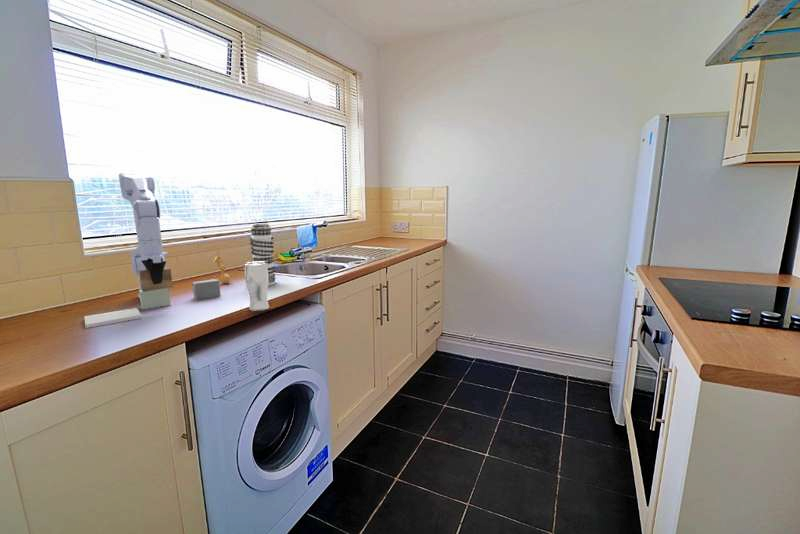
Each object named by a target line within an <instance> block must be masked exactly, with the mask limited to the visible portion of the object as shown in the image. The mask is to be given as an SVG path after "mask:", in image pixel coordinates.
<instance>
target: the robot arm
mask: <svg viewBox="0 0 800 534" xmlns="http://www.w3.org/2000/svg"><path fill="white" fill-rule="evenodd" d="M154 177H155V176H154V175H153V174H152V173H128V172H127V173H123V172H120V173H119V174H118V179H119V186H120V191H121V196H122V199H124V200H127V201H129V203H130V205H131V207H132V212H133V218H134V225H135V230H136V236H137V237H136V238H137V242H138V246H137V247H136V248H134V249H133V250H132V251H131V253H130V261H131V263H130V264H131V268H132V273H134V274H135V275H137V277H138V278H137V280H138V286H139V290H141V284H140V277H139V271H142V270H148V271H149V273H150V276H151V279H152V282H153V284H160V283H162V275H163V269H164V268H167V267H166V264H167V261H166V259H165V256H168V255H169V253H168V251H164V249H163V240H162V232H161V225H160V219H161V206H160V203H159V200H158V199H155V197H154V196H155V190H156V185H155V178H154ZM137 297H138V298H139V299H140V295H139V294H137Z"/></svg>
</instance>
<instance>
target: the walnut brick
mask: <svg viewBox="0 0 800 534" xmlns="http://www.w3.org/2000/svg"><path fill="white" fill-rule="evenodd" d="M139 277H140V284H141V290H142V291H143V292H145V291H152V290H159V289H166V288H169V289H171V288H174V286H173V285H174V284H173V280H172V279H173V277H172V271H171V268H170V267H166V268H164V269H163V275H162V283H160V284H153V282H152V279H151V276H150V273H149V271H148V270H142V271H139Z"/></svg>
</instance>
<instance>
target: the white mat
mask: <svg viewBox="0 0 800 534" xmlns="http://www.w3.org/2000/svg"><path fill="white" fill-rule="evenodd" d="M139 318H140V319H142V315H141V313H140V311H139V309H138V308H137V307H134V308H133V307H132V308H126V309H120V310H114V311H108V312H103V313H97V314H96V313H95V314H92V315H91V314H90V315H85V316H84V326H85V329H89V328H94V327H100V326H106V325H112V324H115V323H121V322H122V323H123V322H128V320H129V321H134V320H139Z"/></svg>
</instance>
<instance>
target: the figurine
mask: <svg viewBox="0 0 800 534" xmlns="http://www.w3.org/2000/svg"><path fill="white" fill-rule="evenodd" d="M213 259H214V260H213V261H212V263H213V266H214V268H215V269H218V268H219V269H220V274H221V276H220V279H219V280H220V282H221V283H222V284H224V285H227V284H229V283H231V279H232V278H231V277H232V276H230V275H229V274H227V273H225V269H226V266H228V265H227V263H226V261H224V260H223V259H222V257H221V255H220V254H219V255H217V256H215V257H213ZM221 262H222V263H224V264H225V266H224V265H223V264H222V263H221ZM216 265H217V266H216Z"/></svg>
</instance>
